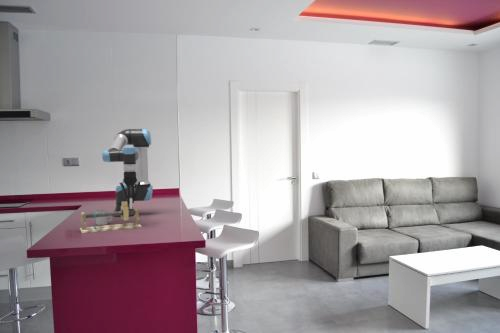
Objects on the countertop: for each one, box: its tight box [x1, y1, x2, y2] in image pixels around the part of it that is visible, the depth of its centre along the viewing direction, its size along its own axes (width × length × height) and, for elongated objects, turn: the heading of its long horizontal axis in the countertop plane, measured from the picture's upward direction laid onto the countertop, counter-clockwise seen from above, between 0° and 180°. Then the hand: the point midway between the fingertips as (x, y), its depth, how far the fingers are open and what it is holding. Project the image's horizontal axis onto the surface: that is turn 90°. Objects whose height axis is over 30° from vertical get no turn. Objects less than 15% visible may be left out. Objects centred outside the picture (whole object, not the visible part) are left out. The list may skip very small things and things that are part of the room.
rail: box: [79, 208, 142, 234], centre depth 235 cm, size 34×12×11 cm, turn 119°
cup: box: [95, 209, 113, 226], centre depth 252 cm, size 7×10×9 cm
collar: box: [120, 201, 130, 221], centre depth 239 cm, size 3×8×11 cm, turn 29°
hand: (130, 208), depth 241 cm, fingers closed
